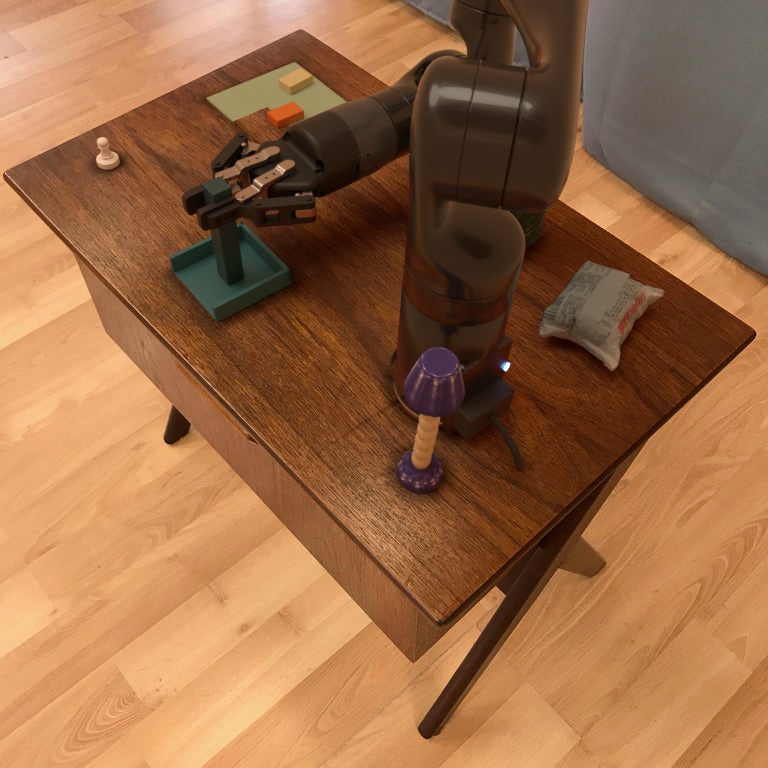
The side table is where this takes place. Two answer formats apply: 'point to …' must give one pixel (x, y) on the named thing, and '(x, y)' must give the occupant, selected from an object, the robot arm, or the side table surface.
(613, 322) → the packaged food
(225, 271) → the tray with upright handle
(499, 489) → the side table surface
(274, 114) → the block
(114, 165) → the chess pawn
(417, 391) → the toy lamp
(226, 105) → the mat
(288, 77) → the block
